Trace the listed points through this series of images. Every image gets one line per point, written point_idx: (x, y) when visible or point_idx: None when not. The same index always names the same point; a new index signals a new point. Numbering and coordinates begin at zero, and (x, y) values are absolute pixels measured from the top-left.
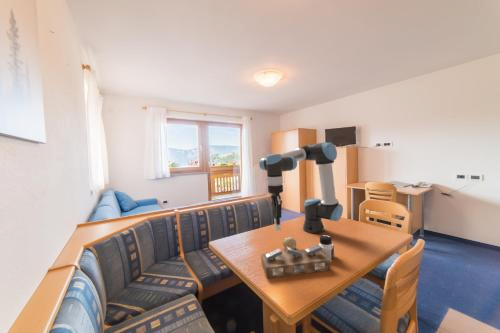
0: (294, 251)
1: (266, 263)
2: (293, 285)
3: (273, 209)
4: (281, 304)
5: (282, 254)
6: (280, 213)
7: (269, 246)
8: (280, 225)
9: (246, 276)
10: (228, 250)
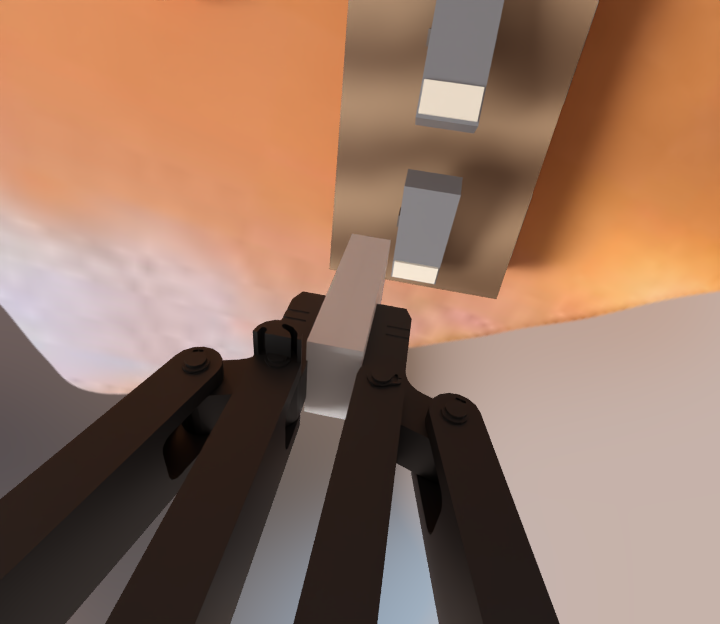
0: (486, 49)
1: (451, 279)
2: (639, 156)
3: (166, 494)
4: (716, 281)
5: (382, 125)
6: (505, 514)
7: (127, 105)
8: (383, 272)
9: (431, 343)
10: (168, 350)
